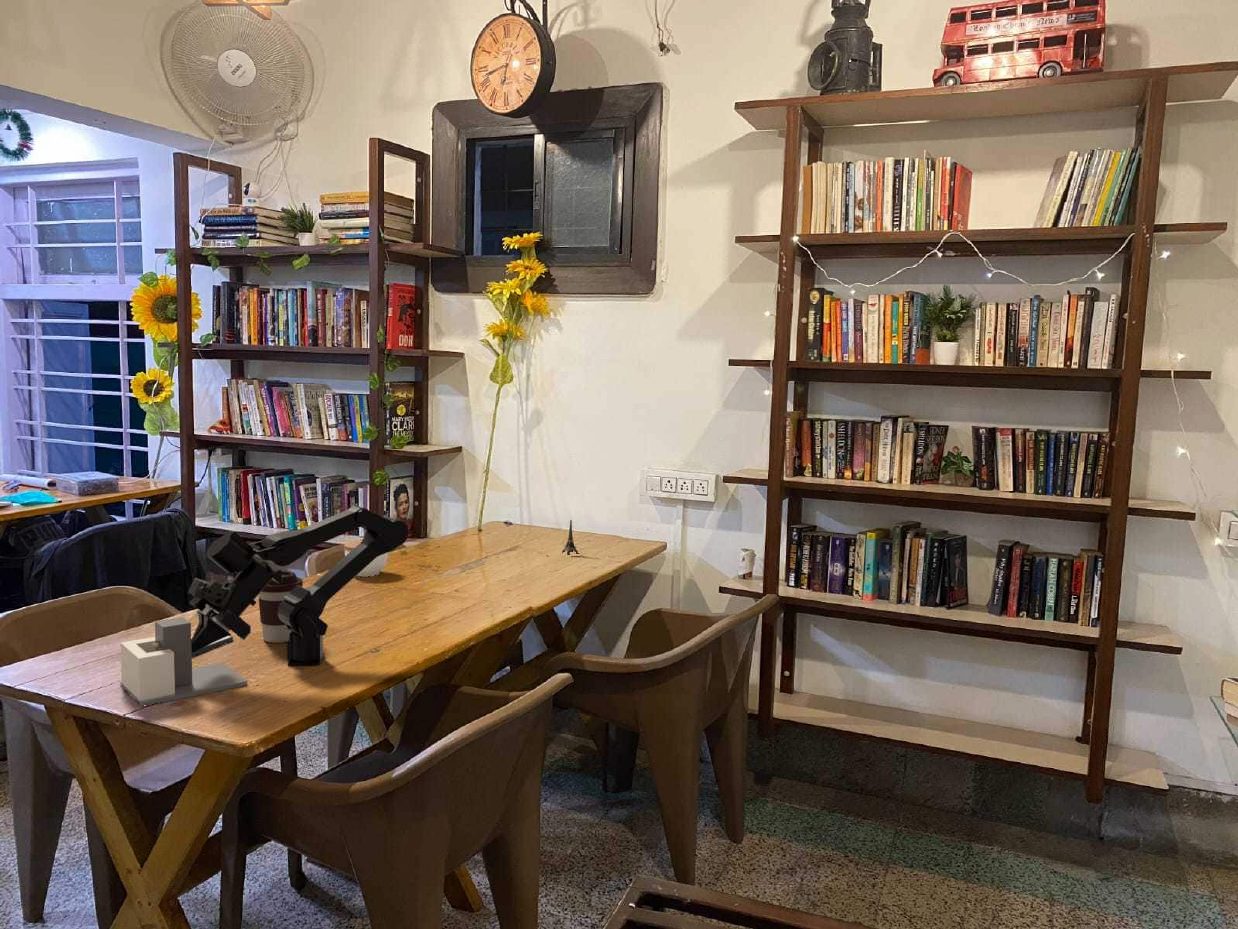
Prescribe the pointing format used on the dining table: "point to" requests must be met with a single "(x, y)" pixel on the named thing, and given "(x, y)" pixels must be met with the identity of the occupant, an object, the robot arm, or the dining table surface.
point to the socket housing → (168, 674)
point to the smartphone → (213, 645)
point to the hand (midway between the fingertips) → (188, 651)
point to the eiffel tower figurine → (570, 542)
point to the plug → (176, 646)
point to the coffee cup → (276, 607)
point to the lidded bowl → (373, 566)
